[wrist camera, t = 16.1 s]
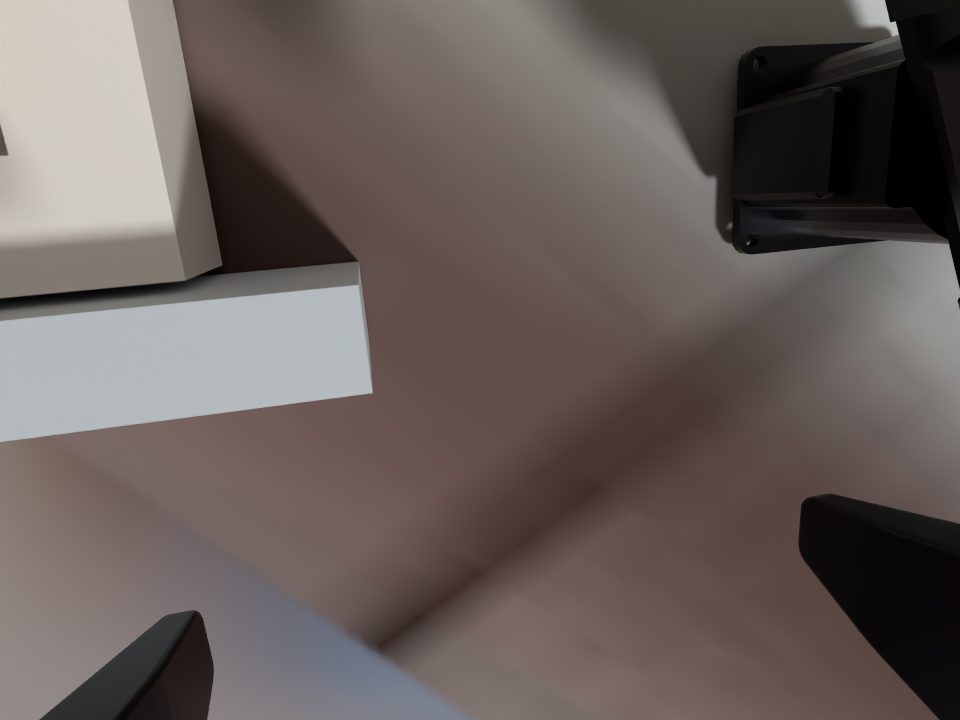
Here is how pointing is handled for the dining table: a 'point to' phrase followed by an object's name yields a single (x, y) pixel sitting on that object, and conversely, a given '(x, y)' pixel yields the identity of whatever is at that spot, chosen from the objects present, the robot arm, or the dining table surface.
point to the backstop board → (181, 349)
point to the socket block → (98, 149)
